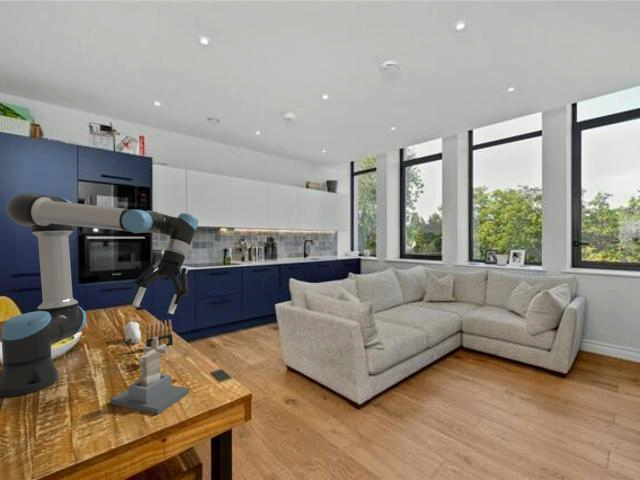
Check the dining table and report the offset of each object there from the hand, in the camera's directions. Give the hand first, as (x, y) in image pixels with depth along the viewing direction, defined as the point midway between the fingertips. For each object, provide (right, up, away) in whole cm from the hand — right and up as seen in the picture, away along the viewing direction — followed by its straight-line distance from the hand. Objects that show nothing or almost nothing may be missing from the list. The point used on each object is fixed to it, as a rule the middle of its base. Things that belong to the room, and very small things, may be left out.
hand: (152, 309), depth 106 cm
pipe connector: (-5, -24, +12) cm, 27 cm away
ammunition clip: (-13, -24, +28) cm, 39 cm away
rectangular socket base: (+7, -24, -14) cm, 28 cm away
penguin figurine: (-29, -24, +36) cm, 52 cm away
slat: (+7, -23, -14) cm, 27 cm away
